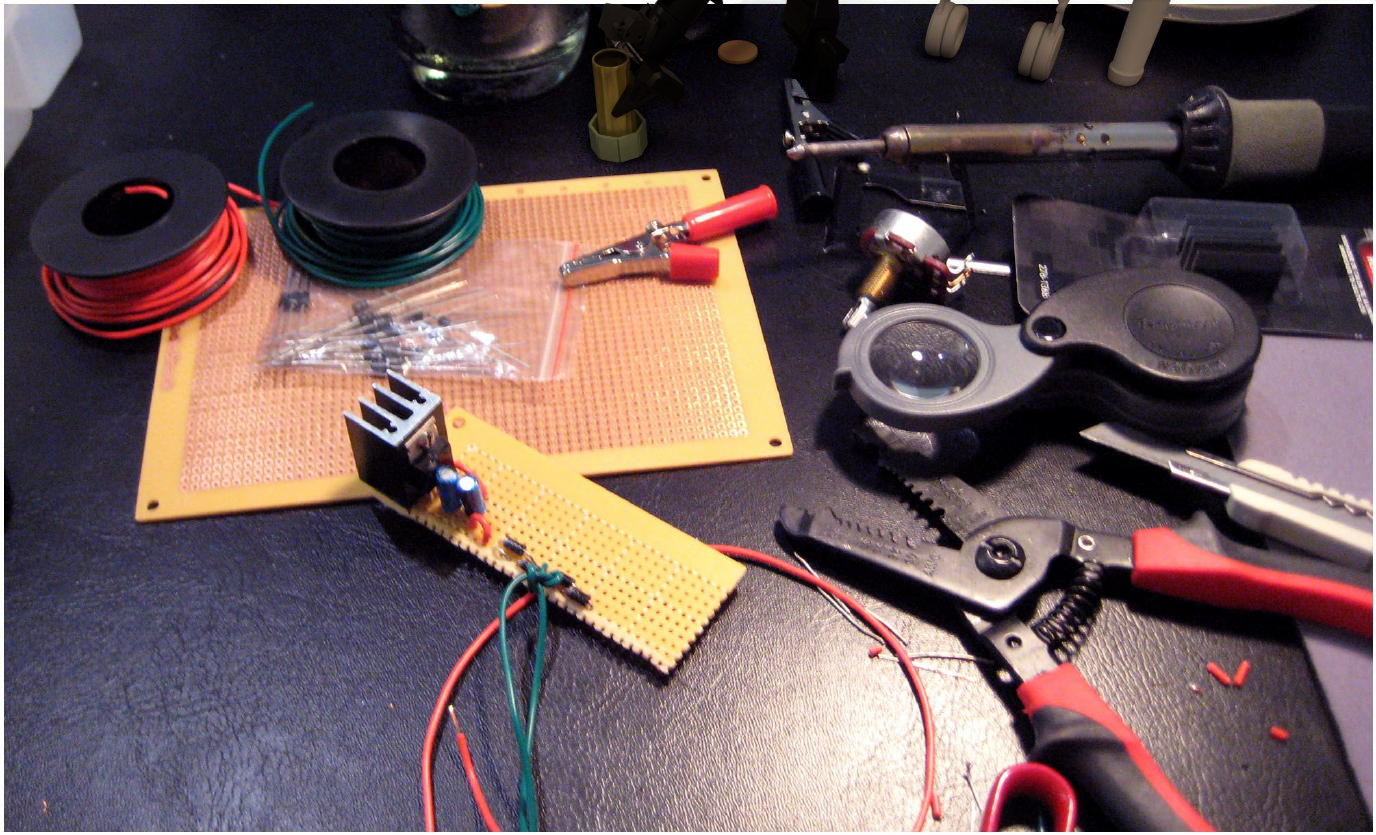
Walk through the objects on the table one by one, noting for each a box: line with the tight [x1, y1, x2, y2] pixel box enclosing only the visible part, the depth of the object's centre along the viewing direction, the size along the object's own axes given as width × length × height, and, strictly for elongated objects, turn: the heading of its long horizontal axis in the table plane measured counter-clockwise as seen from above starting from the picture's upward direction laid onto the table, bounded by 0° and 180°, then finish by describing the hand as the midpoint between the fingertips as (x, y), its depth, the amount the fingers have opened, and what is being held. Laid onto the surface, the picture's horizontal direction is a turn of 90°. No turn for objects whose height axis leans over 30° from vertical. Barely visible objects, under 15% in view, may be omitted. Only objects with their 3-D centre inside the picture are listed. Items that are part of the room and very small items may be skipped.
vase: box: [591, 48, 637, 138], centre depth 134 cm, size 6×6×14 cm
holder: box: [587, 108, 649, 163], centre depth 138 cm, size 8×8×4 cm
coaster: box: [717, 39, 759, 65], centre depth 154 cm, size 7×7×1 cm
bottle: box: [1107, 0, 1172, 87], centre depth 137 cm, size 5×5×25 cm
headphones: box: [924, 0, 1071, 82], centre depth 143 cm, size 20×8×19 cm, turn 62°
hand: (606, 106), depth 133 cm, fingers closed on vase, 5 cm apart
